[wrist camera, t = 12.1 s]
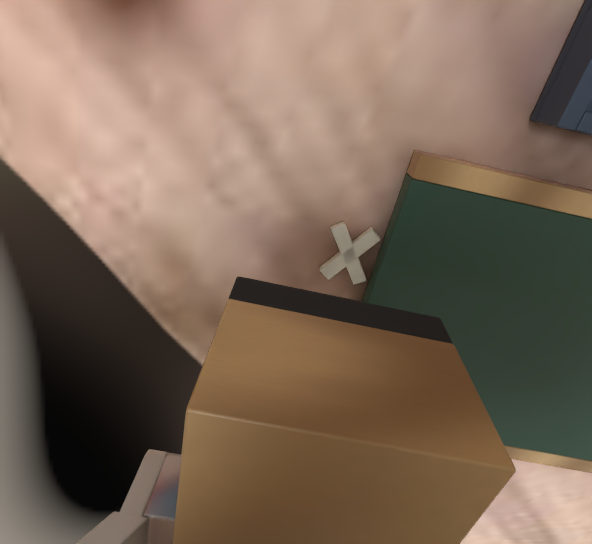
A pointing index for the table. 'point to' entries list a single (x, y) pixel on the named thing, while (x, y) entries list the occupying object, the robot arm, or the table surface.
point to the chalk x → (349, 253)
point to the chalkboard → (502, 294)
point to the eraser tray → (570, 81)
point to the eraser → (333, 427)
